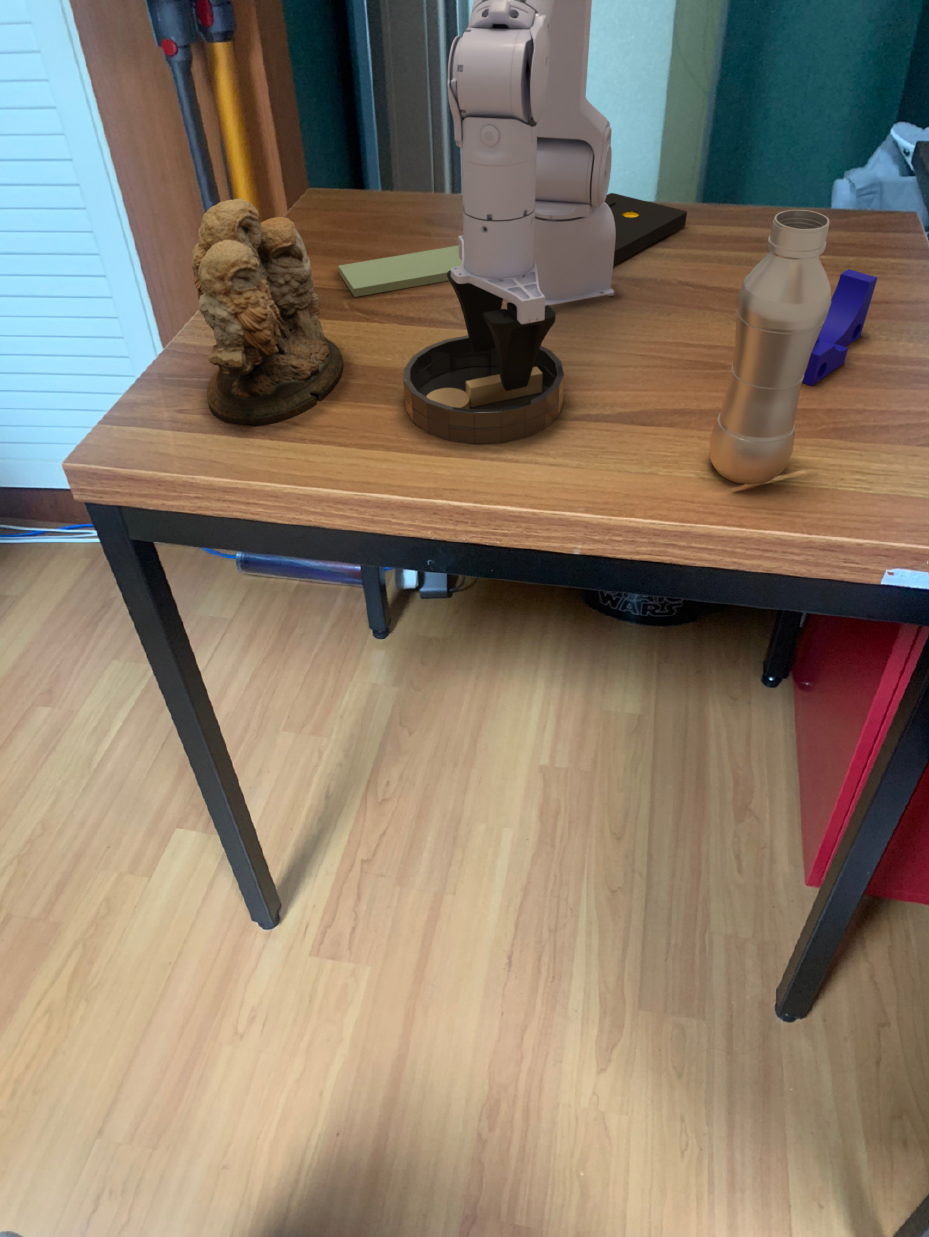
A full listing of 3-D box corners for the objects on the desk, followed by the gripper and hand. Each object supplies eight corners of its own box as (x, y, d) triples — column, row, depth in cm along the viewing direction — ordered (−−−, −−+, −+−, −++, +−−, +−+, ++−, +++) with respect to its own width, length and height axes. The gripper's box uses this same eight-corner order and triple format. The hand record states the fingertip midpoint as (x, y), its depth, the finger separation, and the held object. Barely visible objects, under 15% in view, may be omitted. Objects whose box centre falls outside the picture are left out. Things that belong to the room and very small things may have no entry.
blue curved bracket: (811, 385, 82) (827, 324, 78) (768, 370, 85) (782, 309, 81) (874, 341, 88) (892, 281, 84) (832, 327, 91) (848, 269, 87)
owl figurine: (305, 442, 78) (270, 244, 66) (180, 431, 80) (124, 237, 68) (362, 346, 91) (341, 167, 79) (253, 339, 92) (217, 162, 81)
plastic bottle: (788, 455, 74) (854, 206, 60) (782, 502, 70) (851, 243, 56) (710, 443, 76) (757, 198, 62) (698, 488, 71) (746, 233, 57)
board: (498, 247, 109) (498, 238, 108) (520, 268, 104) (520, 259, 103) (339, 274, 104) (338, 265, 103) (354, 297, 99) (353, 288, 99)
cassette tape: (610, 207, 117) (611, 190, 116) (686, 227, 112) (688, 209, 110) (524, 249, 108) (524, 231, 106) (602, 273, 102) (604, 254, 101)
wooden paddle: (433, 424, 79) (432, 404, 77) (419, 402, 81) (418, 382, 80) (548, 399, 81) (548, 379, 80) (530, 379, 84) (531, 359, 82)
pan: (525, 357, 88) (526, 323, 86) (588, 428, 78) (590, 392, 76) (387, 385, 85) (384, 351, 82) (435, 462, 75) (433, 426, 73)
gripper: (422, 187, 74) (430, 340, 83) (484, 248, 64) (486, 415, 73) (501, 175, 76) (500, 327, 85) (573, 233, 66) (564, 398, 75)
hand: (499, 367), depth 79 cm, fingers open, 7 cm apart
